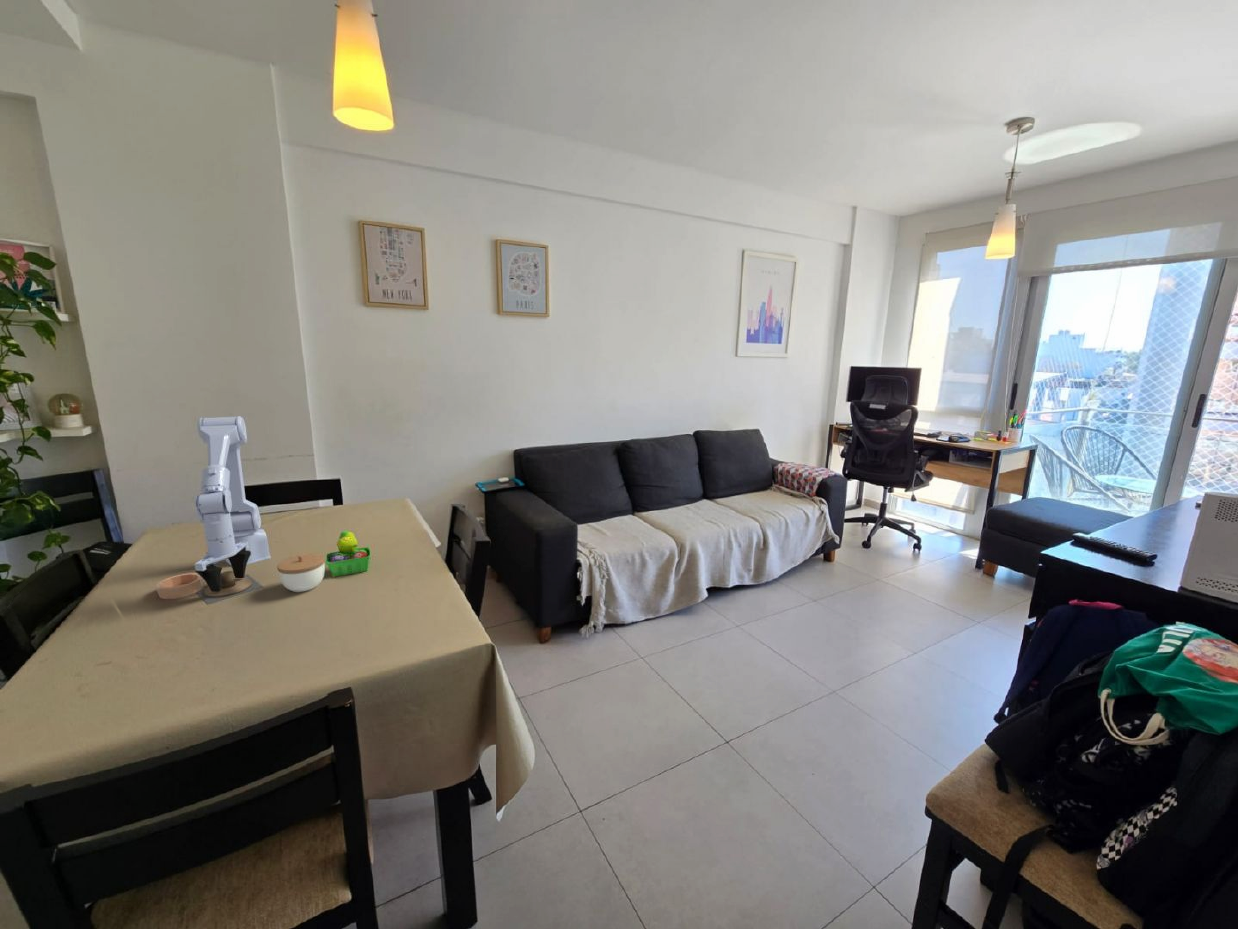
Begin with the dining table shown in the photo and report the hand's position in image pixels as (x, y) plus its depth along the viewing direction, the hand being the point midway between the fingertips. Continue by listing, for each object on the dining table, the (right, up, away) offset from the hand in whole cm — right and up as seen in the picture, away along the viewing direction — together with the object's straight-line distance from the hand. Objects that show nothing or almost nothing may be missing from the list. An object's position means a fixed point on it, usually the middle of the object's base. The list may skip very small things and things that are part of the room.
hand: (228, 584), depth 131 cm
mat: (0, -2, 0) cm, 2 cm away
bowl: (-11, -2, -1) cm, 11 cm away
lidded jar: (+19, -2, +2) cm, 19 cm away
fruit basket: (+25, +1, +14) cm, 29 cm away
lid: (0, -1, 0) cm, 1 cm away
